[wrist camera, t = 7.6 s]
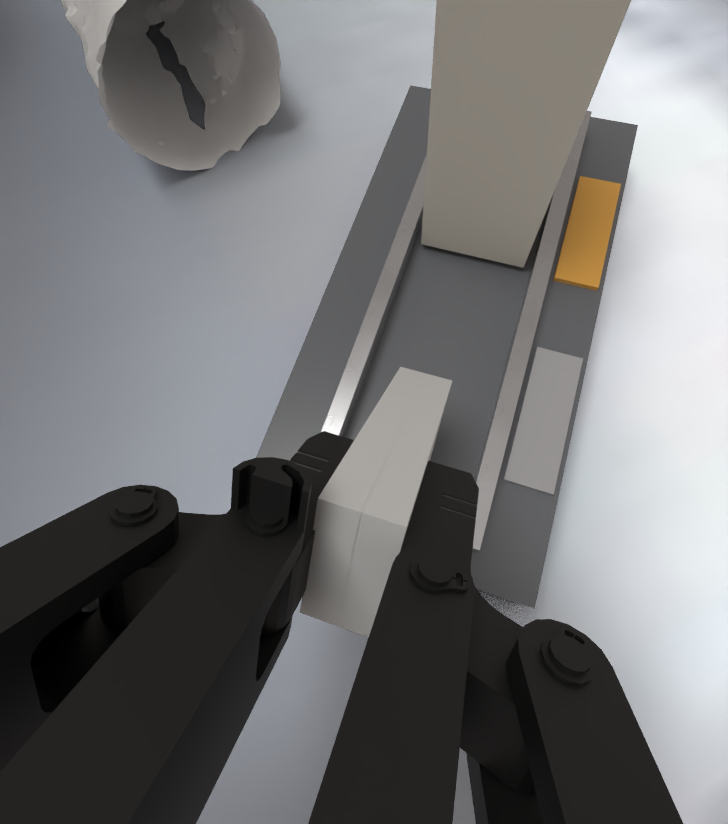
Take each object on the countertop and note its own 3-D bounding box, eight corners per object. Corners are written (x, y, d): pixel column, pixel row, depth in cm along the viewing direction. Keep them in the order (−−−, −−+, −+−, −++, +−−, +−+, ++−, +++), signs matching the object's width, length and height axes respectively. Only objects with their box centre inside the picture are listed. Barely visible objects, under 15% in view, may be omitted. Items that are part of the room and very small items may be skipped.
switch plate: (515, 603, 17) (544, 610, 13) (257, 512, 18) (226, 499, 15) (612, 172, 22) (649, 102, 19) (409, 133, 24) (410, 63, 21)
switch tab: (523, 267, 18) (661, -75, 8) (421, 244, 19) (443, -98, 9) (551, 167, 19) (695, -221, 10) (455, 148, 20) (504, -231, 11)
